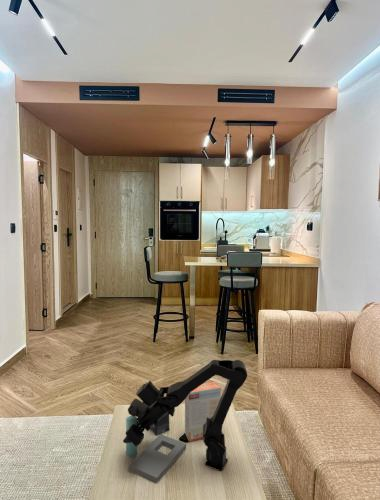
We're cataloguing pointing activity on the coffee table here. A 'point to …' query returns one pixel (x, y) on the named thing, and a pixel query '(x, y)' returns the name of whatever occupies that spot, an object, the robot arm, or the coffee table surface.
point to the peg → (130, 447)
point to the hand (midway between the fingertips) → (128, 435)
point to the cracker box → (200, 408)
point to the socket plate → (157, 458)
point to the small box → (161, 425)
